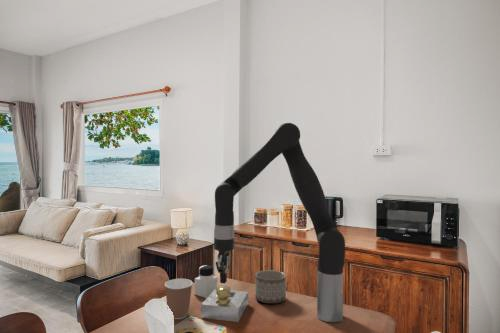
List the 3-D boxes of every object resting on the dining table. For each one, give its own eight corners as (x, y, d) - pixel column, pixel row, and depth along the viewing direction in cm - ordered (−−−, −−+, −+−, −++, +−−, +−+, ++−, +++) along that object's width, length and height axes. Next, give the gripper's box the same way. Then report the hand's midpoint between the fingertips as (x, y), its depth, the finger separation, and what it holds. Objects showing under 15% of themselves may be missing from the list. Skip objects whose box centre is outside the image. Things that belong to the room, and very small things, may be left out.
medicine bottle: (217, 293, 151) (217, 265, 150) (207, 298, 145) (207, 270, 144) (204, 289, 154) (205, 263, 154) (194, 294, 148) (194, 267, 148)
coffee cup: (176, 307, 136) (176, 276, 135) (197, 312, 131) (198, 281, 131) (158, 317, 126) (158, 285, 126) (181, 324, 122) (181, 290, 122)
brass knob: (231, 312, 132) (232, 286, 131) (227, 318, 126) (228, 291, 126) (218, 311, 133) (218, 285, 133) (213, 317, 127) (214, 290, 127)
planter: (274, 308, 136) (275, 282, 136) (249, 300, 143) (249, 275, 143) (291, 298, 146) (291, 274, 146) (266, 291, 153) (266, 268, 153)
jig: (247, 304, 139) (248, 291, 139) (238, 322, 124) (238, 308, 124) (214, 300, 142) (214, 288, 142) (201, 317, 127) (201, 304, 127)
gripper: (229, 241, 122) (228, 289, 122) (238, 233, 135) (237, 277, 135) (208, 239, 124) (208, 287, 124) (219, 232, 137) (219, 276, 137)
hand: (223, 282), depth 130 cm, fingers closed
